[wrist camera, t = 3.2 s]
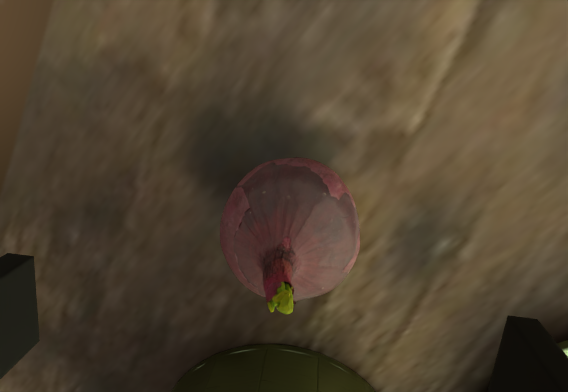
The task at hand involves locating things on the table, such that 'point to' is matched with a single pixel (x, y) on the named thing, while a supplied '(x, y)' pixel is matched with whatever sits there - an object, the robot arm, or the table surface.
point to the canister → (271, 372)
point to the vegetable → (290, 231)
